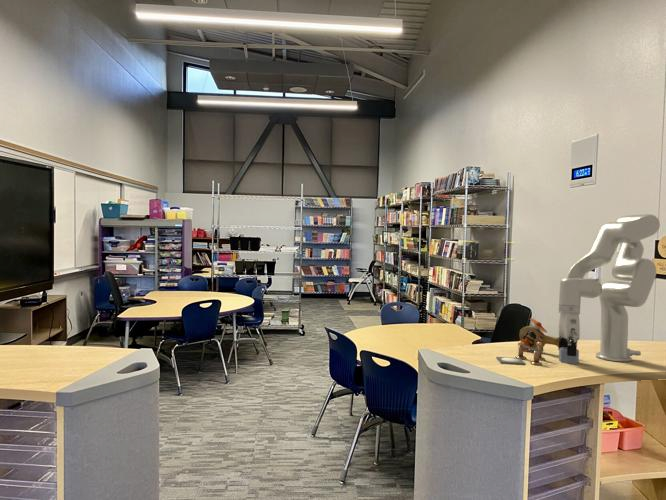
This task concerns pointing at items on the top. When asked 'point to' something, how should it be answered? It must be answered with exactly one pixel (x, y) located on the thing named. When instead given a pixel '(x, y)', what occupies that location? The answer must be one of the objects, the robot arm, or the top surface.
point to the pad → (510, 360)
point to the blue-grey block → (568, 359)
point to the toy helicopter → (536, 336)
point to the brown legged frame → (536, 352)
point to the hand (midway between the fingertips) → (566, 353)
